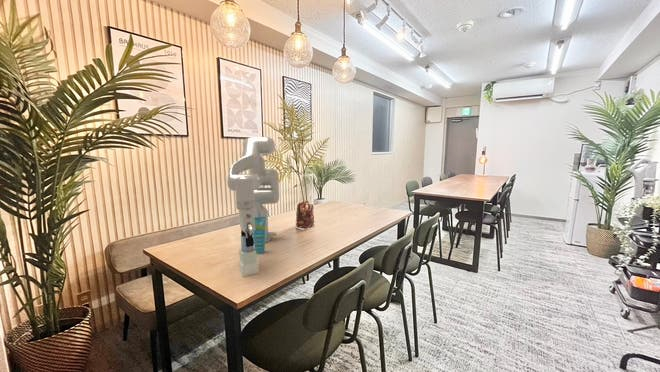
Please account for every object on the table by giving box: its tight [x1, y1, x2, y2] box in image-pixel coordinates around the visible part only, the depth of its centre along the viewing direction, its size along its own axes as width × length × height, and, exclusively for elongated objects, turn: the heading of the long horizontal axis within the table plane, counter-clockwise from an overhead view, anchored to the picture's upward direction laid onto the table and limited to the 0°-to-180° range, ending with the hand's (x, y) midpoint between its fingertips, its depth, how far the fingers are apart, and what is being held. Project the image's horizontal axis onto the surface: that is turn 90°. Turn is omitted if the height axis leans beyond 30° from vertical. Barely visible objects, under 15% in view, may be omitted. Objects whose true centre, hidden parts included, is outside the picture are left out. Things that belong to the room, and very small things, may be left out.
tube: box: [253, 217, 266, 255], centre depth 142 cm, size 7×5×19 cm, turn 103°
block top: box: [238, 248, 258, 265], centre depth 120 cm, size 6×6×5 cm
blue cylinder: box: [240, 236, 255, 252], centre depth 119 cm, size 5×5×6 cm
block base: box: [238, 259, 260, 277], centre depth 120 cm, size 7×7×5 cm
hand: (247, 242), depth 119 cm, fingers open, 9 cm apart
